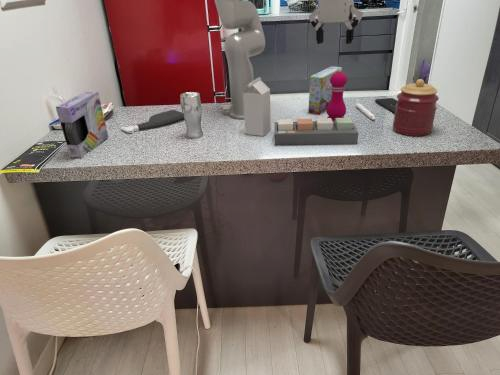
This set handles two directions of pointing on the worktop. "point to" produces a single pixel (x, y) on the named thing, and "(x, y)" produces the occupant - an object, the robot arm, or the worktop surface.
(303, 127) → the key terracotta
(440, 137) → the worktop surface
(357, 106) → the marker
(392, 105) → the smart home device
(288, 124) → the key white left
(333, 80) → the pepper mill
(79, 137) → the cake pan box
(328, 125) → the key white mid
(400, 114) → the canister
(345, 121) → the key sage
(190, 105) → the beer glass
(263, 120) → the milk carton
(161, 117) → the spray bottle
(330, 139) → the keypad
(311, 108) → the snack box
